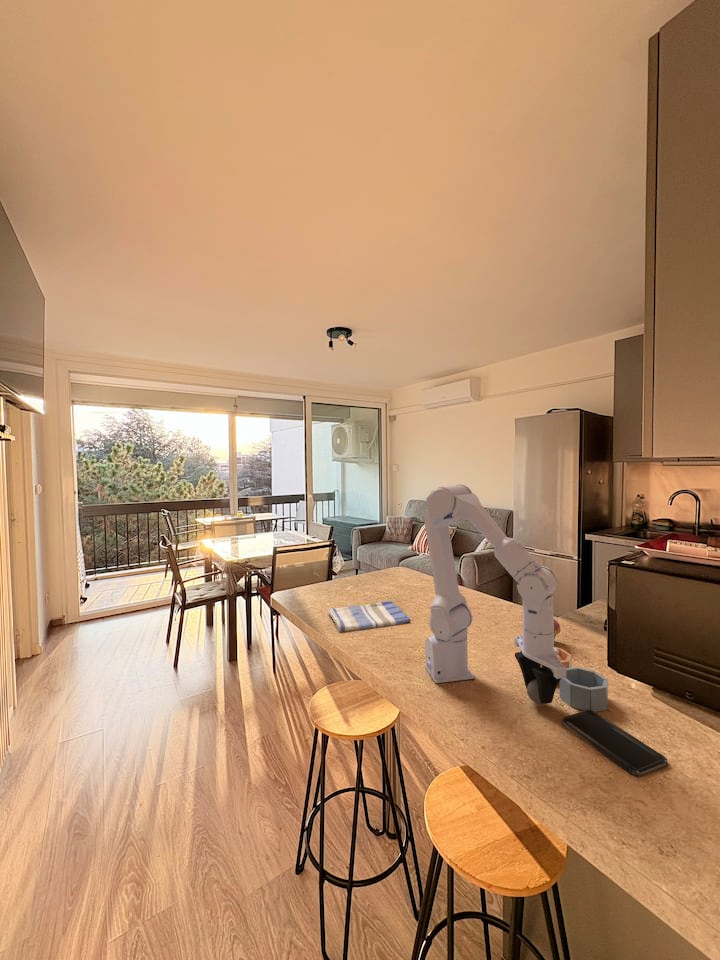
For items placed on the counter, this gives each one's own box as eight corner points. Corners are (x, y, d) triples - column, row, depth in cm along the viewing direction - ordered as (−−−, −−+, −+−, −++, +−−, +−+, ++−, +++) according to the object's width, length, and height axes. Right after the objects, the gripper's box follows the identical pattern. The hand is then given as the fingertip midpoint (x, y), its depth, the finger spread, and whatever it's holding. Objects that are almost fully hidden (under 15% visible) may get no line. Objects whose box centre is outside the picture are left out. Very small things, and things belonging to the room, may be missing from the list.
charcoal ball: (535, 710, 80) (534, 688, 80) (522, 697, 85) (522, 676, 85) (555, 707, 81) (555, 685, 81) (542, 695, 86) (542, 674, 85)
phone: (635, 774, 63) (559, 718, 77) (635, 781, 63) (559, 724, 78) (671, 760, 66) (591, 708, 80) (671, 767, 66) (591, 714, 80)
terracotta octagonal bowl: (544, 684, 91) (544, 664, 90) (523, 666, 99) (523, 647, 99) (579, 679, 92) (579, 660, 92) (555, 662, 100) (555, 644, 100)
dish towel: (326, 614, 139) (326, 606, 139) (393, 606, 144) (393, 598, 144) (336, 634, 122) (336, 625, 122) (411, 624, 128) (411, 616, 127)
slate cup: (579, 713, 80) (579, 691, 80) (552, 690, 88) (552, 669, 88) (617, 708, 81) (617, 686, 81) (587, 686, 89) (587, 665, 89)
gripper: (581, 642, 76) (581, 714, 76) (535, 614, 90) (535, 675, 91) (546, 646, 75) (546, 719, 75) (505, 617, 89) (506, 678, 90)
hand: (538, 695), depth 83 cm, fingers closed on charcoal ball, 4 cm apart
